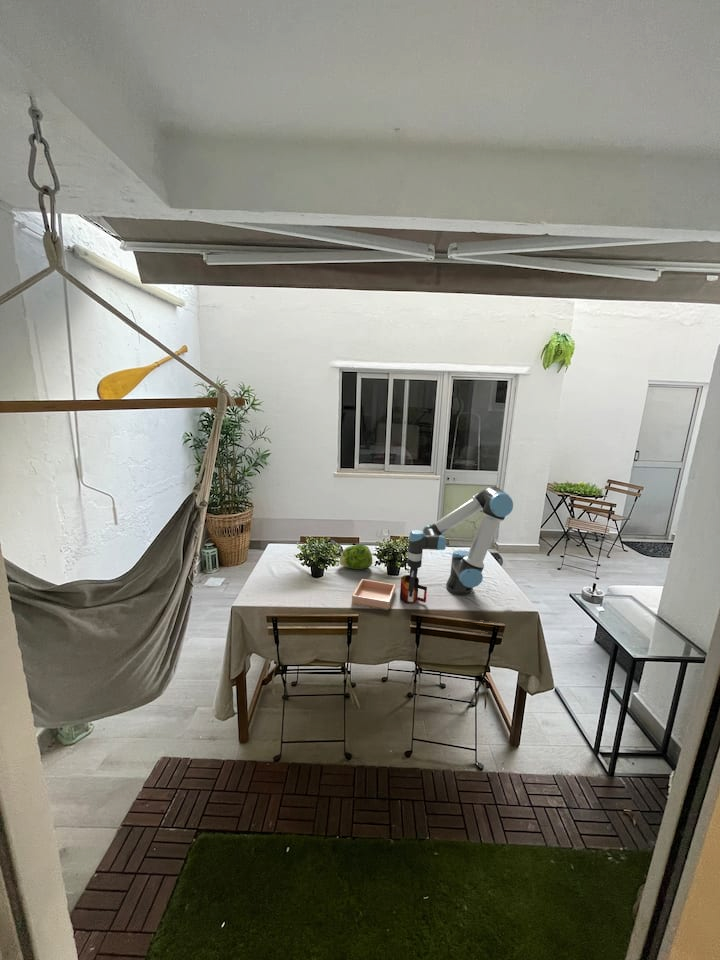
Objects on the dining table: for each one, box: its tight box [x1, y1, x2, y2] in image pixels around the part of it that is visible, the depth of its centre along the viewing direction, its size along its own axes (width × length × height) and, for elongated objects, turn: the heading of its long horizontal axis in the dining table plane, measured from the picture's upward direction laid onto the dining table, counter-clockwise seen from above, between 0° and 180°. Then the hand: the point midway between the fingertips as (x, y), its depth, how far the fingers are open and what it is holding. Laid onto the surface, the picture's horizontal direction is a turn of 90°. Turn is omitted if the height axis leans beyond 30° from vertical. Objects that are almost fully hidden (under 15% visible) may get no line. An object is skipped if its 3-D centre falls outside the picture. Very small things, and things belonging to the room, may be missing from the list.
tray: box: [351, 578, 397, 611], centre depth 224 cm, size 20×20×5 cm
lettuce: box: [338, 544, 373, 570], centre depth 259 cm, size 16×21×15 cm
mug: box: [399, 574, 428, 605], centre depth 223 cm, size 10×14×12 cm
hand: (411, 596), depth 224 cm, fingers closed on mug, 10 cm apart
